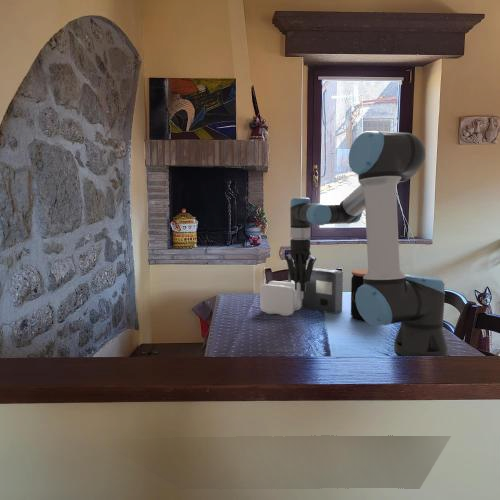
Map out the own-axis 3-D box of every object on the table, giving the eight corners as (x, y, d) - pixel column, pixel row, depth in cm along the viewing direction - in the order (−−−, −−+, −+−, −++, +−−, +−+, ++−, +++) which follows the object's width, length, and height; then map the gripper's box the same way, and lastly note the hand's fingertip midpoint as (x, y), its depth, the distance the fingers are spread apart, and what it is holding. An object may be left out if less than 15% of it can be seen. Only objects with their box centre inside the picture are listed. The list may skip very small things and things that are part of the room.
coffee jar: (347, 320, 168) (348, 272, 165) (354, 313, 177) (355, 268, 175) (376, 323, 163) (377, 275, 160) (382, 316, 172) (383, 270, 170)
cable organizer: (258, 312, 179) (257, 284, 177) (269, 306, 188) (269, 279, 186) (292, 317, 171) (292, 287, 170) (303, 311, 181) (303, 282, 179)
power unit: (334, 313, 176) (335, 273, 174) (287, 305, 189) (287, 267, 187) (342, 310, 181) (342, 270, 179) (295, 302, 194) (296, 265, 192)
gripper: (320, 238, 169) (319, 299, 172) (291, 236, 176) (291, 294, 180) (310, 240, 163) (309, 303, 166) (280, 238, 171) (280, 298, 174)
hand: (299, 299), depth 173 cm, fingers closed
